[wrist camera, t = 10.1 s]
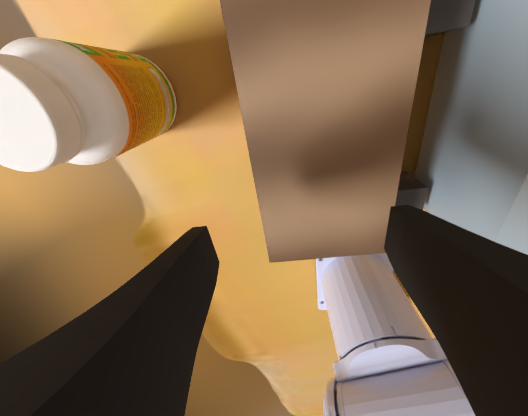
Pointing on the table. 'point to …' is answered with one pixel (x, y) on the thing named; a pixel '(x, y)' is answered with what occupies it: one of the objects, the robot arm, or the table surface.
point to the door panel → (481, 126)
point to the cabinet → (331, 114)
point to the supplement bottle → (77, 103)
